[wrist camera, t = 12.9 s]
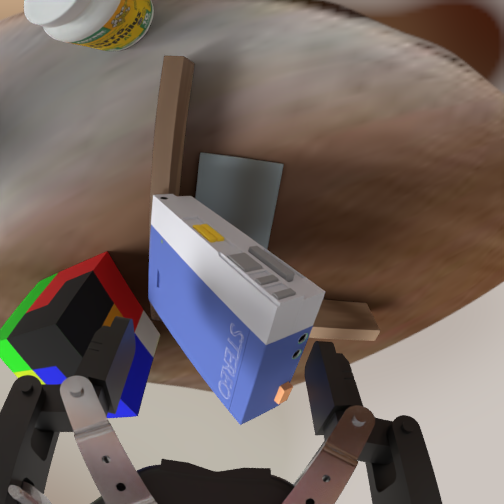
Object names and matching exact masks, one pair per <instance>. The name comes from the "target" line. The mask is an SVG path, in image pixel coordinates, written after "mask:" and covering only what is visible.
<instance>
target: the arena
mask: <svg viewBox="0 0 504 504" xmlns="http://www.w3.org/2000/svg"><path fill="white" fill-rule="evenodd" d="M194 66H195V64H194V63H193V62H192V61H190V60H189V59H187V58H186V57H184V56H164V61H163V67H162V74H161V81H160V88H159V96H158V104H157V113H156V123H155V133H154V144H153V157H152V172H151V190H150V218H149V252H150V232H151V215H152V202H153V195H157V194H174V195H175V196H179V193H180V181H181V170H182V159H183V149H184V140H185V131H186V123H187V115H188V107H189V100H190V93H191V86H192V79H193V72H194ZM282 170H283V164H281V163H275V162H269V161H262V160H256V159H249V158H242V157H235V156H227V155H219V154H211V153H202V152H201V153H200V160H199V169H198V178H197V188H196V198H195V199H196V200H198V201H199V202H200V203H202V204H203V205H205V206H206V207H208V208H209V209H210V210H212V211H213V212H215V213H216V214H217V215H219V216H220V217H222V218H223V219H225V220H226V221H227V222H229V223H230V224H232V225H233V226H234V227H236V228H237V229H239V230H240V231H241V232H243V233H244V234H246V235H247V236H248V237H250V238H251V239H253V240H254V241H256V242H257V243H258V244H260V245H261V246H263V247H264V248H265V249H267V247H268V242H269V237H270V232H271V227H272V222H273V217H274V212H275V207H276V202H277V196H278V191H279V186H280V181H281V175H282ZM150 312H151V320H157V321H162V319H161V318H160V316H159V315H158V313H157V312H156V310H155V309H154V307H153V305H152V304H151V302H150ZM379 332H380V329H379V327H378V325H377V323H376V321H375V319H374V317H373V315H372V313H371V311H370V309H369V307H368V305H367V303H359V302H347V301H336V300H325V299H323V300H322V303H321V306H320V308H319V311H318V314H317V316H316V319H315V322H314V324H313V327H312V330H311V333H310V335H309V338H323V339H343V340H370V341H375V340H376V338H377V336H378V334H379Z"/></svg>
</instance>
